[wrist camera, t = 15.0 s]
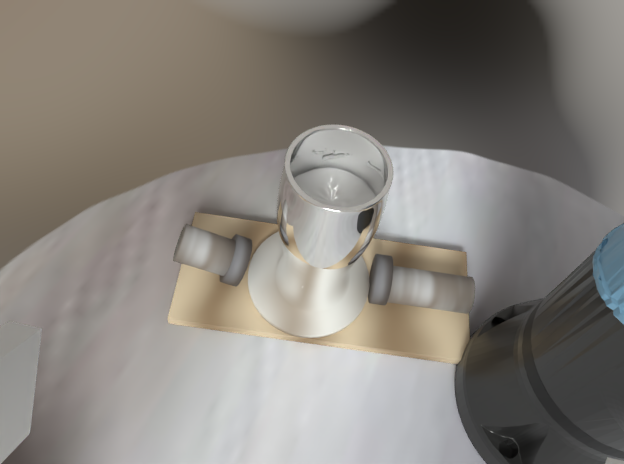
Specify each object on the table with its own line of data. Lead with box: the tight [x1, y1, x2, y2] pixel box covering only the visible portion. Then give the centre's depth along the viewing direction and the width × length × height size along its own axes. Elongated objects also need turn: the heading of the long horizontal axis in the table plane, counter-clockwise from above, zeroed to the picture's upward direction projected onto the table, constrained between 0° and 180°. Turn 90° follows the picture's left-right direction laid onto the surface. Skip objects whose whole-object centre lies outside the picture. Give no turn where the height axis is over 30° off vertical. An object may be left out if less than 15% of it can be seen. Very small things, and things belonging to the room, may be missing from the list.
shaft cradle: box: [168, 212, 475, 364], centre depth 46 cm, size 24×10×6 cm, turn 84°
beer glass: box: [275, 124, 393, 312], centre depth 40 cm, size 7×7×15 cm
